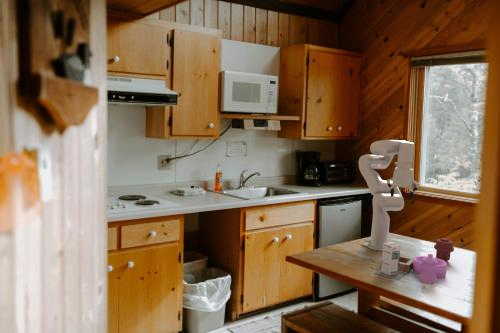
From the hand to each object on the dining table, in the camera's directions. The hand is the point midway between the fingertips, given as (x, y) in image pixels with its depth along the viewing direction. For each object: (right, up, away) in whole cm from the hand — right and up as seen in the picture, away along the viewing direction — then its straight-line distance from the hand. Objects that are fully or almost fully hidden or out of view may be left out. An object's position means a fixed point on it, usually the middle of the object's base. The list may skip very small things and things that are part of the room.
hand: (401, 197), depth 256 cm
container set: (+7, -37, -20) cm, 43 cm away
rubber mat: (-12, -35, -21) cm, 43 cm away
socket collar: (-4, -34, -9) cm, 36 cm away
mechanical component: (+24, -35, +5) cm, 42 cm away
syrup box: (-12, -35, -20) cm, 42 cm away
